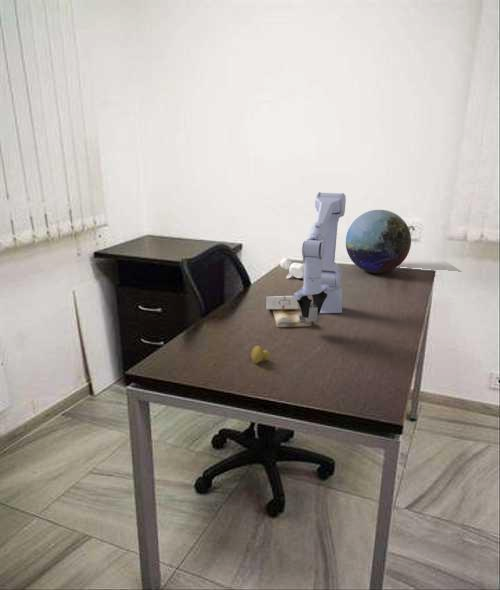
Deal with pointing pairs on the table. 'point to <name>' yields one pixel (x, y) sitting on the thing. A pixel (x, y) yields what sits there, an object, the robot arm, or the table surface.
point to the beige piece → (290, 318)
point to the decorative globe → (378, 241)
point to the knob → (259, 354)
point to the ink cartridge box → (281, 302)
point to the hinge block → (312, 313)
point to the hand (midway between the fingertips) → (311, 315)
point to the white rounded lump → (293, 268)
